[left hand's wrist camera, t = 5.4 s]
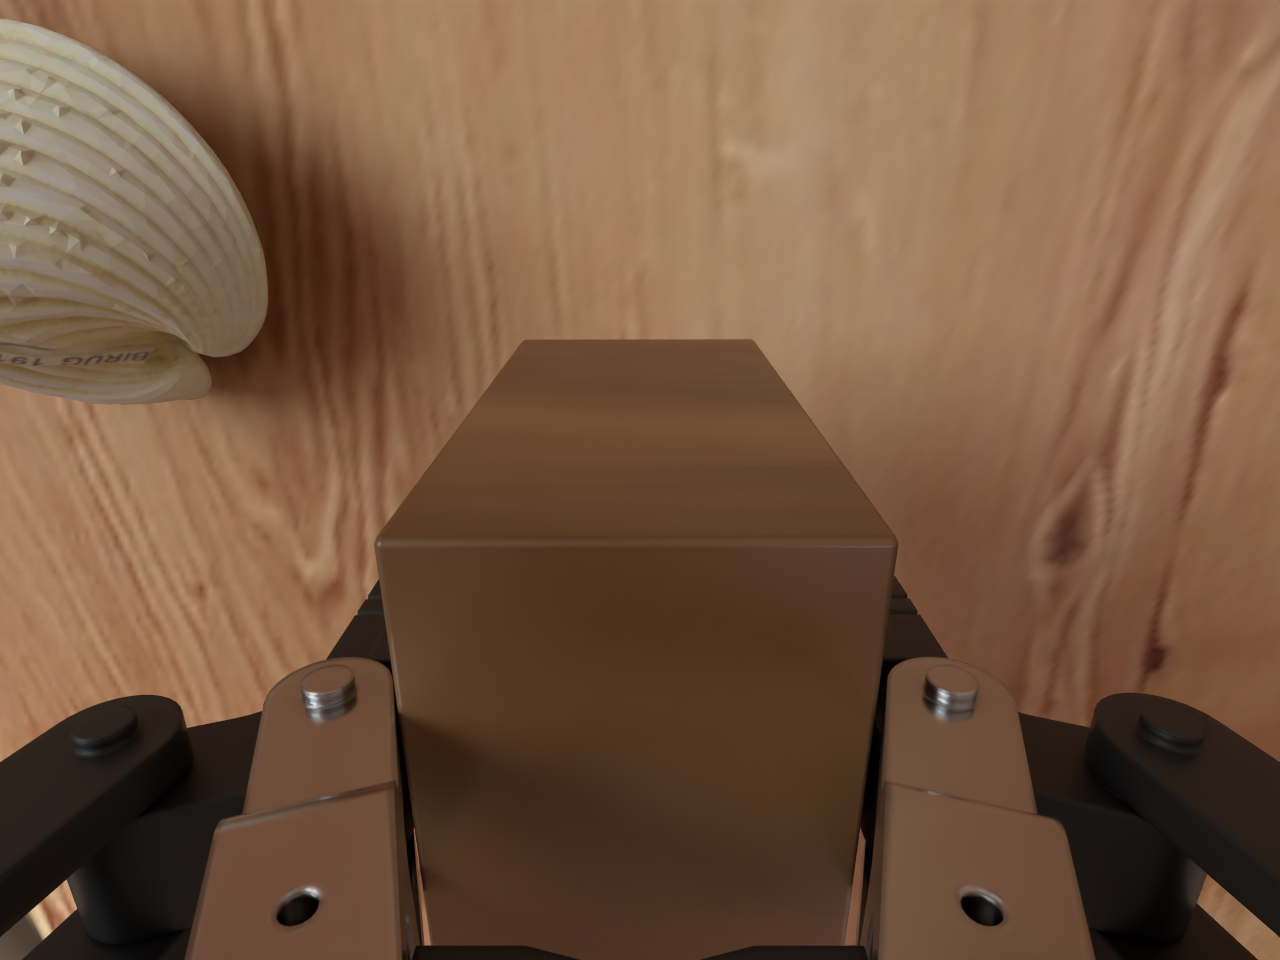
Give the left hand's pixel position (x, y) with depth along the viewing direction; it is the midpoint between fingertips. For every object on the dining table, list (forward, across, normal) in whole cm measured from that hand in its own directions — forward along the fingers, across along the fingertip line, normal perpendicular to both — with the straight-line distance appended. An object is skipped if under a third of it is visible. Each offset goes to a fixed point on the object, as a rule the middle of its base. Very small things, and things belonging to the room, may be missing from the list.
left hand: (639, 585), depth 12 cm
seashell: (+11, -13, +5) cm, 18 cm away
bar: (+5, 0, -9) cm, 10 cm away
